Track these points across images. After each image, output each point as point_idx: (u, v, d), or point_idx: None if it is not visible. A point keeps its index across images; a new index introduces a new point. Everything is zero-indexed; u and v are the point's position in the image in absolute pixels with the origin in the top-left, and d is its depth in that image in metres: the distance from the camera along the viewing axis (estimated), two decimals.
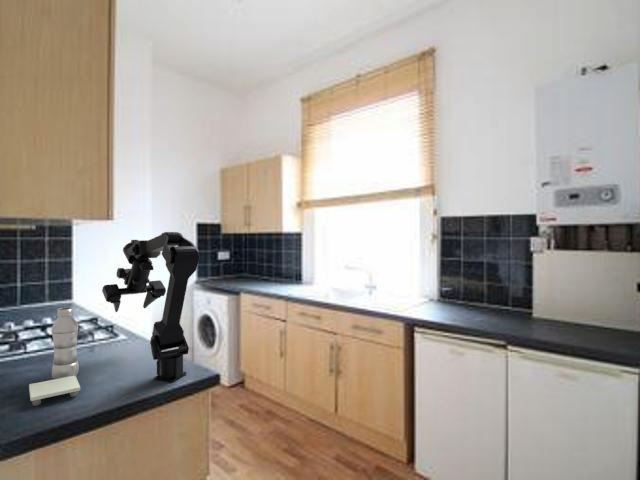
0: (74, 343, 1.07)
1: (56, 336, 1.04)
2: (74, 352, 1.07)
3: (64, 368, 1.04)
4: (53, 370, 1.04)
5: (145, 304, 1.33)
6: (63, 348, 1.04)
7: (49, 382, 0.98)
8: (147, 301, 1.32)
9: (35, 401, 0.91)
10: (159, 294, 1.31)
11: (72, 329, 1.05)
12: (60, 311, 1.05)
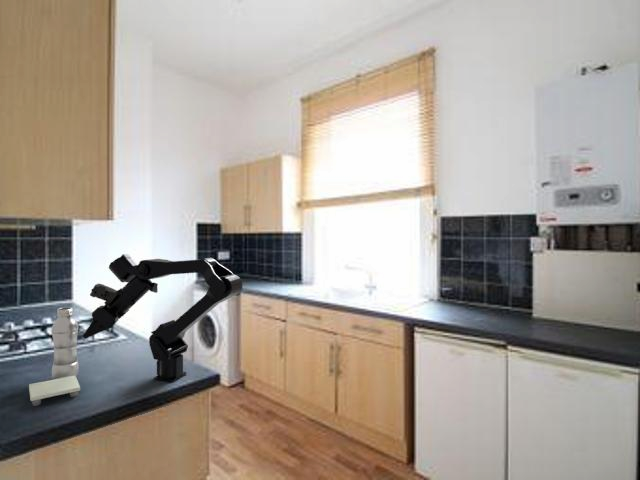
0: (74, 343, 1.07)
1: (56, 336, 1.04)
2: (74, 352, 1.07)
3: (64, 368, 1.04)
4: (53, 370, 1.04)
5: None
6: (63, 348, 1.04)
7: (49, 382, 0.98)
8: None
9: (35, 401, 0.91)
10: None
11: (72, 329, 1.05)
12: (60, 311, 1.05)
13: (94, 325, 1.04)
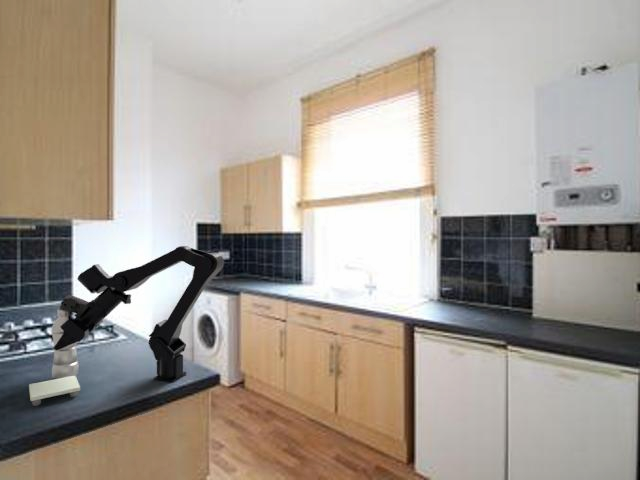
0: (74, 343, 1.07)
1: (56, 336, 1.04)
2: (74, 352, 1.07)
3: (64, 368, 1.04)
4: (53, 370, 1.04)
5: None
6: (63, 348, 1.04)
7: (49, 382, 0.98)
8: None
9: (35, 401, 0.91)
10: None
11: None
12: (60, 311, 1.05)
13: (65, 337, 1.03)
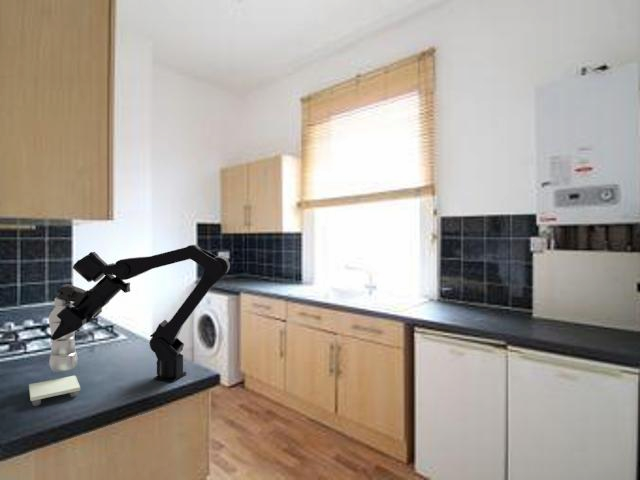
0: (72, 333, 1.04)
1: (53, 326, 1.01)
2: (72, 342, 1.04)
3: (62, 358, 1.01)
4: (51, 360, 1.01)
5: None
6: (61, 338, 1.02)
7: (49, 382, 0.98)
8: None
9: (35, 401, 0.91)
10: (97, 315, 1.12)
11: None
12: (57, 300, 1.02)
13: (62, 326, 1.00)
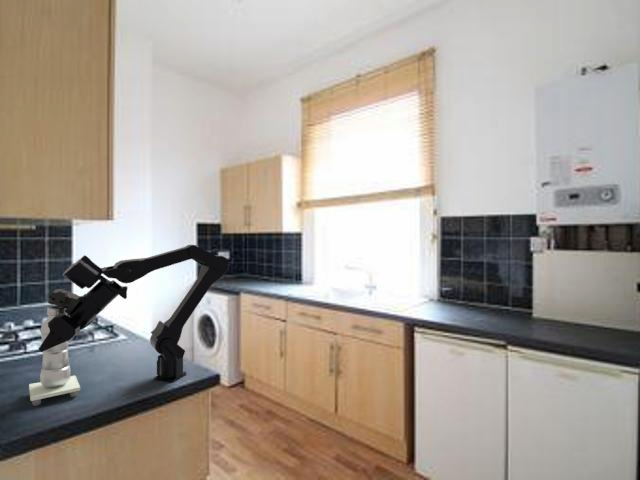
0: (65, 345, 0.96)
1: None
2: (65, 355, 0.96)
3: (54, 373, 0.94)
4: (42, 375, 0.94)
5: None
6: (53, 351, 0.94)
7: None
8: None
9: (35, 401, 0.91)
10: (91, 322, 1.05)
11: None
12: (50, 310, 0.94)
13: (52, 337, 0.91)
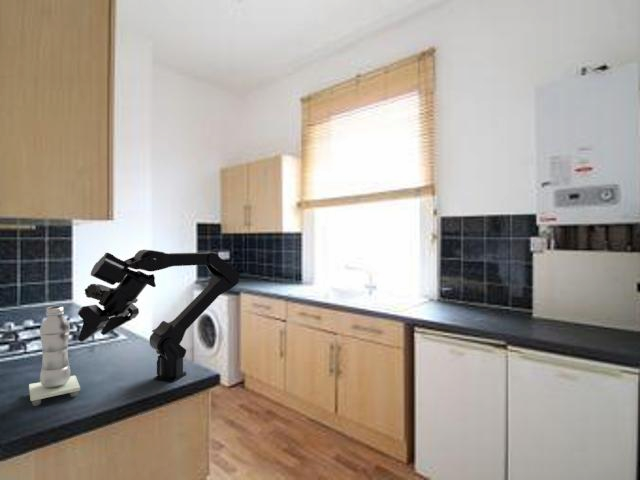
0: (65, 345, 0.96)
1: (45, 338, 0.93)
2: (65, 355, 0.96)
3: (54, 373, 0.94)
4: (41, 375, 0.94)
5: (108, 329, 1.06)
6: (53, 351, 0.94)
7: None
8: (113, 325, 1.06)
9: (35, 401, 0.91)
10: (133, 316, 1.09)
11: (62, 330, 0.95)
12: (49, 310, 0.94)
13: (86, 326, 0.96)
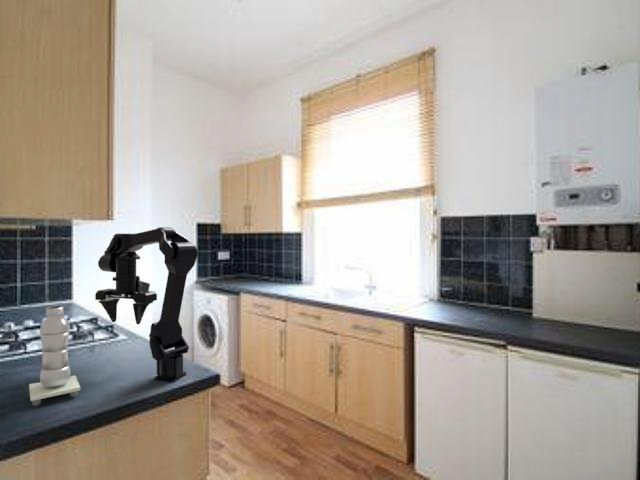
0: (65, 345, 0.96)
1: (45, 338, 0.93)
2: (65, 355, 0.96)
3: (54, 373, 0.94)
4: (41, 375, 0.94)
5: None
6: (53, 351, 0.94)
7: None
8: None
9: (35, 401, 0.91)
10: (137, 300, 1.14)
11: (62, 330, 0.95)
12: (49, 310, 0.94)
13: None
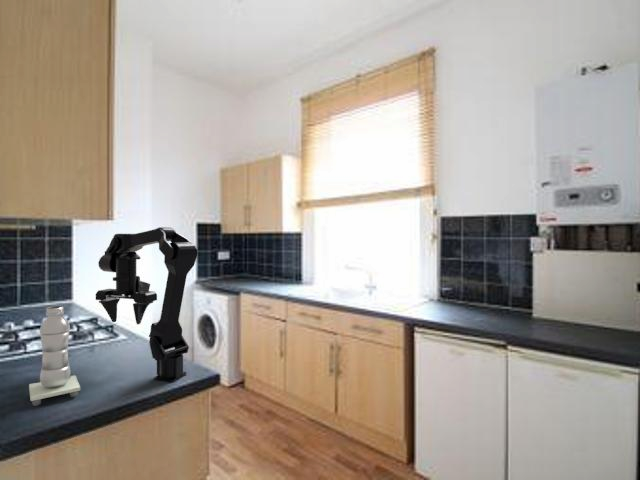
0: (65, 345, 0.96)
1: (45, 338, 0.93)
2: (65, 355, 0.96)
3: (54, 373, 0.94)
4: (41, 375, 0.94)
5: None
6: (53, 351, 0.94)
7: None
8: None
9: (35, 401, 0.91)
10: (137, 300, 1.14)
11: (62, 330, 0.95)
12: (49, 310, 0.94)
13: None
